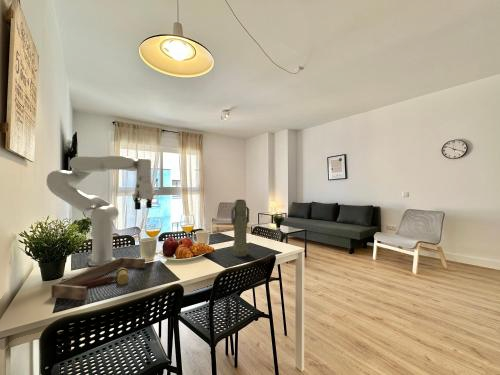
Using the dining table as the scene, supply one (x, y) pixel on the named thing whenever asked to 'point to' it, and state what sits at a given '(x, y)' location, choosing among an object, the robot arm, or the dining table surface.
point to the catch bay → (90, 278)
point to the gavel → (109, 279)
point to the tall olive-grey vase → (240, 227)
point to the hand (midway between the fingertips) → (143, 208)
